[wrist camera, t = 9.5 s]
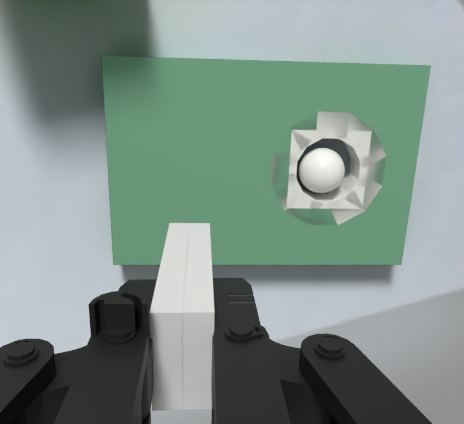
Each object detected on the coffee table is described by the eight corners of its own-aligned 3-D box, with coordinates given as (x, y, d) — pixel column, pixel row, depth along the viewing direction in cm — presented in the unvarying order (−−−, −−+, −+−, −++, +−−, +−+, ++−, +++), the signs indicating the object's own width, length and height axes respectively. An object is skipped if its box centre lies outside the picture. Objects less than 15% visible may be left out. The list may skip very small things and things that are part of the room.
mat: (119, 253, 38) (113, 264, 36) (108, 57, 33) (101, 55, 31) (389, 253, 40) (401, 264, 37) (415, 66, 35) (430, 65, 33)
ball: (288, 191, 36) (325, 200, 33) (290, 147, 35) (329, 153, 32) (314, 184, 38) (351, 193, 36) (318, 143, 37) (355, 148, 35)
